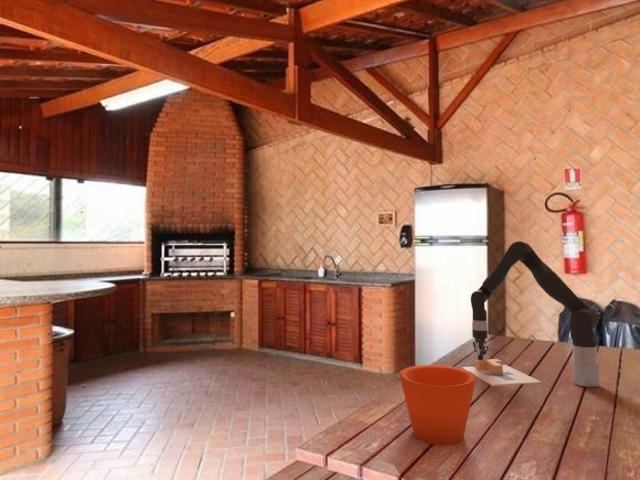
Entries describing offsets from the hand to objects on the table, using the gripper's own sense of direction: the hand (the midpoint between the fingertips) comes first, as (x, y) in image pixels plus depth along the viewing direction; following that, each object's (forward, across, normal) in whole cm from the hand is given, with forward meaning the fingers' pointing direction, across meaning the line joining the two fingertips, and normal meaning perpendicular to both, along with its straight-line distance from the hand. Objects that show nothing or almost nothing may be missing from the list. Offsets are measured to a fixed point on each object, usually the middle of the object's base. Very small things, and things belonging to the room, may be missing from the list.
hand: (480, 361), depth 235 cm
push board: (+2, -18, 0) cm, 18 cm away
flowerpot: (+2, -78, +55) cm, 96 cm away
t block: (+1, -12, 0) cm, 12 cm away
